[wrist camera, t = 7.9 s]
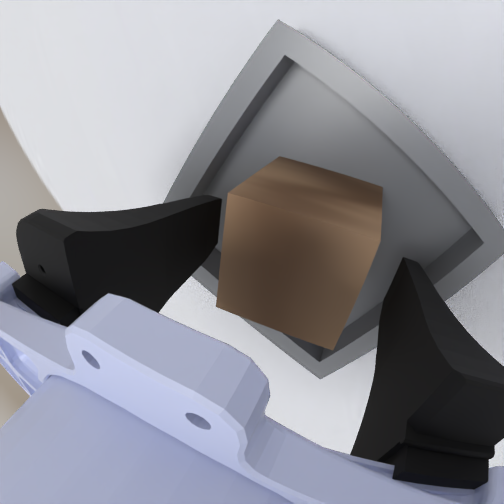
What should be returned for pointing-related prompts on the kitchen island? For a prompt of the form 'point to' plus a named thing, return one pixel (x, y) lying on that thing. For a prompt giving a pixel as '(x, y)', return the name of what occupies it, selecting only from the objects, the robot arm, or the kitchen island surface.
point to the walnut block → (298, 248)
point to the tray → (348, 163)
